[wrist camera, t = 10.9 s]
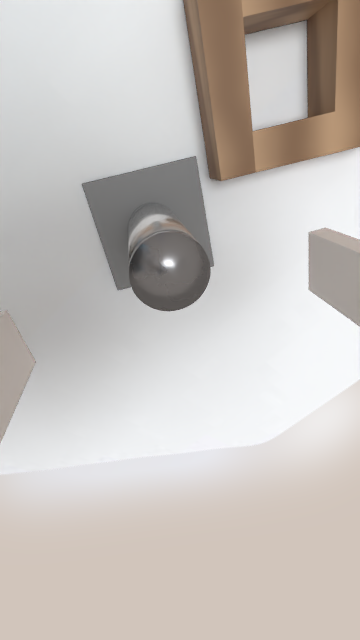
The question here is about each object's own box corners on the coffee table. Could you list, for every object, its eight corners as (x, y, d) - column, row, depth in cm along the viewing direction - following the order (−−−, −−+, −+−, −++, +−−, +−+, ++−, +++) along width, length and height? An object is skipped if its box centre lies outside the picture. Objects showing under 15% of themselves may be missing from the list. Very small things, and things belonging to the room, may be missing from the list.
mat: (117, 288, 31) (117, 290, 31) (82, 183, 26) (81, 184, 26) (213, 264, 31) (214, 266, 31) (195, 156, 26) (195, 156, 26)
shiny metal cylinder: (136, 258, 29) (142, 319, 18) (121, 209, 27) (117, 245, 16) (182, 246, 30) (216, 299, 18) (171, 197, 27) (202, 222, 16)
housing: (209, 178, 27) (221, 180, 24) (182, -3, 22) (192, -35, 18) (358, 141, 28) (391, 138, 24) (370, -47, 22) (415, -87, 19)
